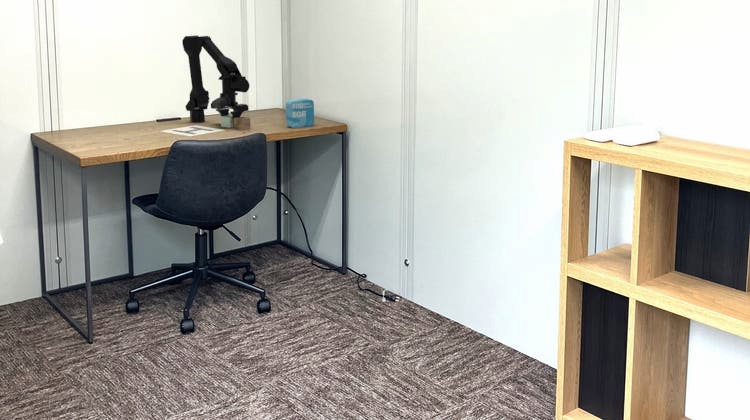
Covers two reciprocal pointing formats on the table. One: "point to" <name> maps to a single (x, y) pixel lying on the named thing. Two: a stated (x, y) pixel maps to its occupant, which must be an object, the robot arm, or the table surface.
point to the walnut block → (242, 123)
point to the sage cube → (227, 121)
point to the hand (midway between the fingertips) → (230, 125)
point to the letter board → (192, 130)
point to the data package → (300, 113)
